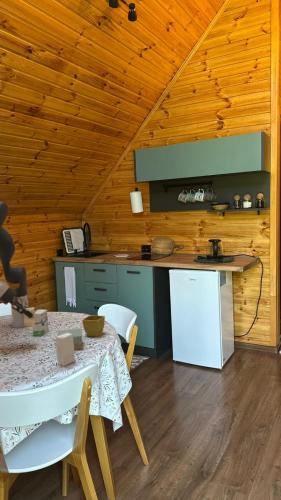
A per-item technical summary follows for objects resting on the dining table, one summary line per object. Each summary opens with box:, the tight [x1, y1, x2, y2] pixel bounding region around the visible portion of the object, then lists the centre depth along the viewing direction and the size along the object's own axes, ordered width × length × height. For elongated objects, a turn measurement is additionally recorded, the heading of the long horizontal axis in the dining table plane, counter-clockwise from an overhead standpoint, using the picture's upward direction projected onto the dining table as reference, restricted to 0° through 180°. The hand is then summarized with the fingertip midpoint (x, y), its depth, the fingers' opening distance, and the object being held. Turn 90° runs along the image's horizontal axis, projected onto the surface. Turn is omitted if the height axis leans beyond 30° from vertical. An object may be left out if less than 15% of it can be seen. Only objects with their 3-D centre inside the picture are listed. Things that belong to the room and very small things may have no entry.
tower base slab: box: [74, 342, 84, 351], centre depth 177 cm, size 11×11×4 cm
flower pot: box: [81, 314, 106, 338], centre depth 191 cm, size 9×9×9 cm
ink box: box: [32, 309, 50, 337], centre depth 198 cm, size 9×5×12 cm, turn 168°
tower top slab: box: [56, 328, 83, 344], centre depth 177 cm, size 11×11×4 cm
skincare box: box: [55, 333, 76, 367], centre depth 158 cm, size 6×4×12 cm
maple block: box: [24, 306, 36, 328], centre depth 179 cm, size 5×5×8 cm
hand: (32, 315), depth 179 cm, fingers closed on maple block, 4 cm apart
